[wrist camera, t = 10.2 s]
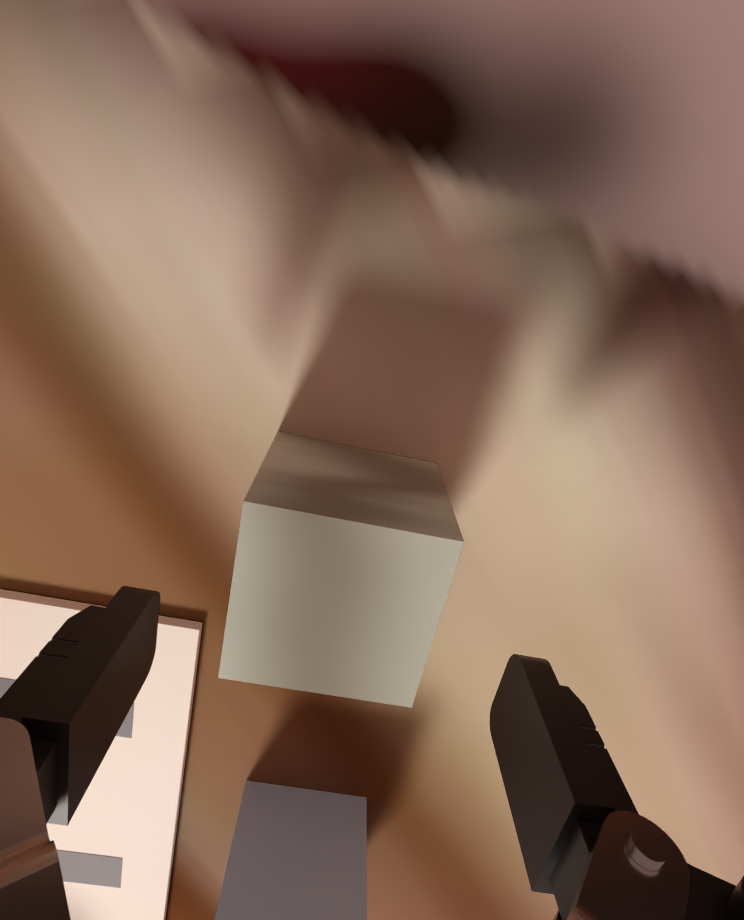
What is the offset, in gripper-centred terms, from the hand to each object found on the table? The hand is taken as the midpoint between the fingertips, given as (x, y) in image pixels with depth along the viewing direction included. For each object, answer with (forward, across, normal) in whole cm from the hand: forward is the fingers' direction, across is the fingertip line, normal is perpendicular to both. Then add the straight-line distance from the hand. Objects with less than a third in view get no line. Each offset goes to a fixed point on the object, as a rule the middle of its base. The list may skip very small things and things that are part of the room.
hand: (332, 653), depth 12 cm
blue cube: (+6, -1, +15) cm, 16 cm away
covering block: (+6, 0, 0) cm, 6 cm away
